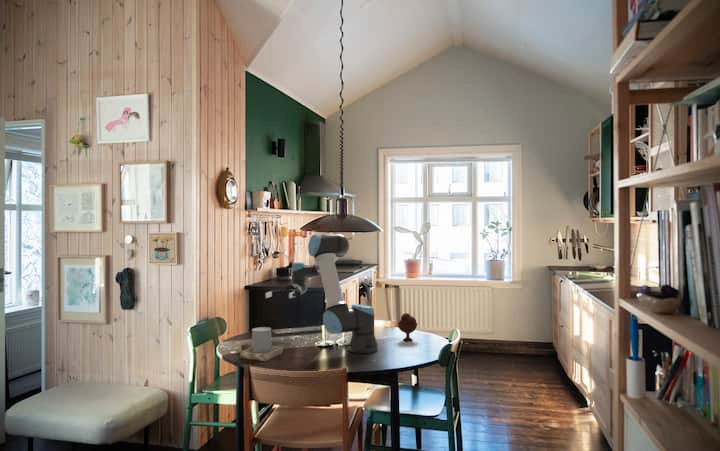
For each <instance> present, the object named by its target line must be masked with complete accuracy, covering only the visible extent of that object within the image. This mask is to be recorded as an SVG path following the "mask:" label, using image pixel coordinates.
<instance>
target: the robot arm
mask: <svg viewBox="0 0 720 451" xmlns="http://www.w3.org/2000/svg"><path fill="white" fill-rule="evenodd" d="M307 249H308V250H307V251H308V254H309V255H310V256H311V257H313V258H314V261H315V262H316V263H314V264H309V265H308V264H305V262H301V261H300V262H292V266H291V272H292V273H291V274H292V282H291V284H288V285H287V286H286V287H285V288H283V289H274V290H267V291H266V292H265V299H268V298H271V297H273V296H274V297H276V296H280V297H283V296H285V297H287V298H289V299H292V298H297V297H301V296H302V295H303V294H305V293H306V292H307V290H308V285H307V283H306V279H308V278H321V281H322V288H323V291H324V296H325V301H326V304H327V306H326V307H325V309H324V310H325V311H324V312H323V315H322V322H323V326H324V328H325V330H326V331H327V333H329V334H330V335H331V334H332V335H336V334H337V335H339V334H342V333H350V332H351V338H350V342H349V345H348V350H349V352H351V353H354V354H372V353H375V352H377V351H378V350H379V344H378V342H377V338H376V336H375V309H374V308H373V306H371V305H365V304H352V305H351V308H349V305H348V303H347V302H345V301H344V297H343V292H342V288H341V283H340V279H339V276H338V275H339V274H338V270H337V267H336V261H338V260H339V259H340V258H343V257H344V256H345V255H347V253H348V252H349V250H350V243H349V240H348V238H347V237H346V236H345V235H343V234H341V233H338V232H337V233H317V234H316V233H315V234H313V235H311V236H310V238H309V241H308V248H307Z"/></svg>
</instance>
